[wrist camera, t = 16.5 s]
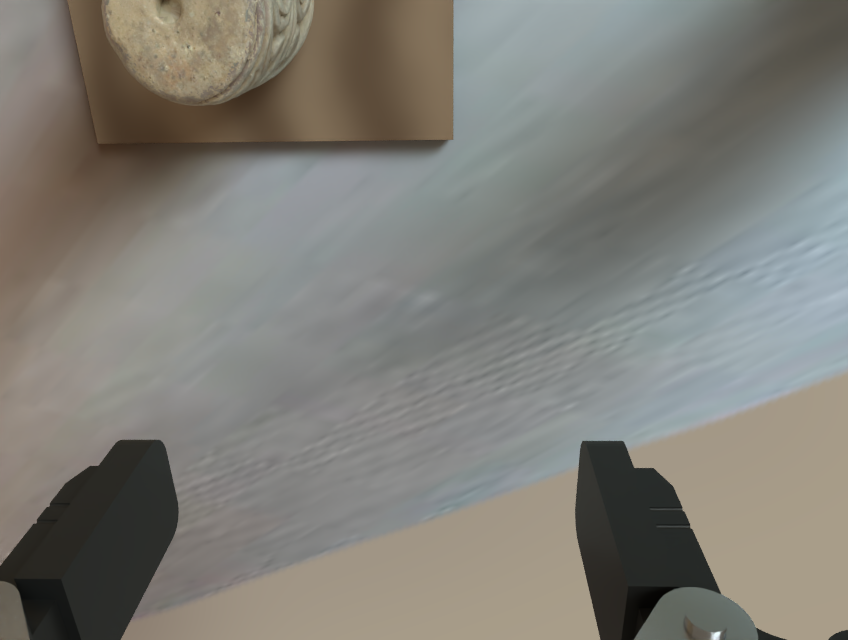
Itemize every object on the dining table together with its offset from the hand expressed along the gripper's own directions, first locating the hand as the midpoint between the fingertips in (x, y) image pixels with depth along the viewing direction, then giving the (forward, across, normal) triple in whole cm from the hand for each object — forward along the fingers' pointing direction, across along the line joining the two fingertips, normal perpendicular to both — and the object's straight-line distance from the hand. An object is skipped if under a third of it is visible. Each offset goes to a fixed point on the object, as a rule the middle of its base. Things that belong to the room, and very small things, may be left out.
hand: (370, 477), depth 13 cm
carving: (+28, +8, -8) cm, 31 cm away
